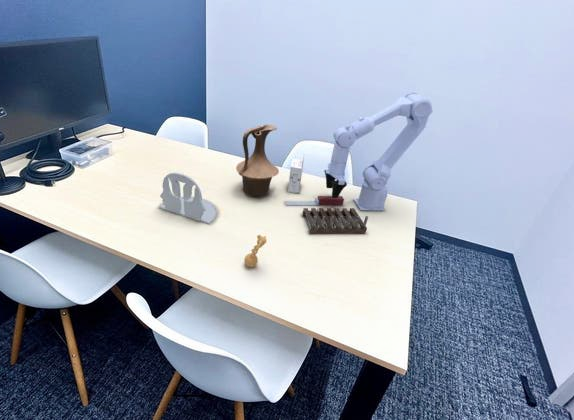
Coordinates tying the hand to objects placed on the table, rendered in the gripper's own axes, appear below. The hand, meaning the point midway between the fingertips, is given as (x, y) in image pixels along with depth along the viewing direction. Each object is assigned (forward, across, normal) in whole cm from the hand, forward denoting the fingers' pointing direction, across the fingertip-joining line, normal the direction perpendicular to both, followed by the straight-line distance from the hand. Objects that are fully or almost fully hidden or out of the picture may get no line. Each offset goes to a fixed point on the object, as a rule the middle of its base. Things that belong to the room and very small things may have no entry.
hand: (331, 192), depth 130 cm
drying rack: (+5, +14, -3) cm, 15 cm away
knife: (+5, 0, -6) cm, 8 cm away
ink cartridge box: (+6, -13, -12) cm, 18 cm away
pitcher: (+6, -10, -29) cm, 31 cm away
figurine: (+6, +36, -34) cm, 50 cm away
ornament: (+6, +3, -54) cm, 54 cm away
